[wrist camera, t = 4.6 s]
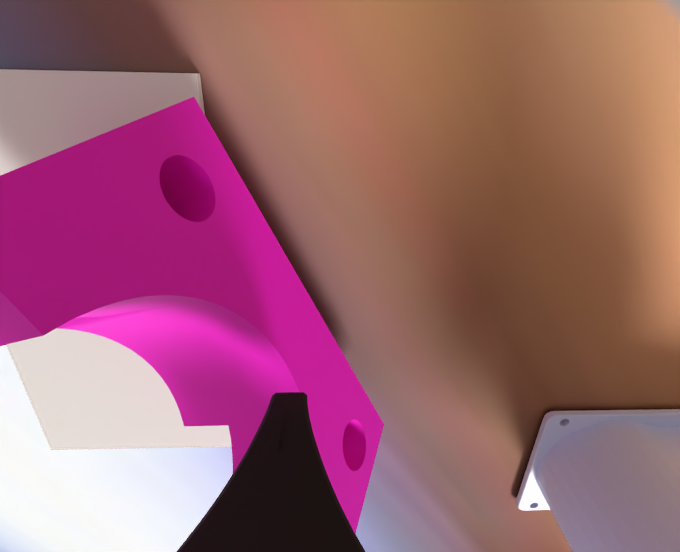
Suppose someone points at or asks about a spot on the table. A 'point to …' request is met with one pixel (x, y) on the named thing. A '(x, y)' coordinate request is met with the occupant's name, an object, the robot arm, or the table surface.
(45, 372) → the mat
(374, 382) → the table surface
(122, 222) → the toy block
